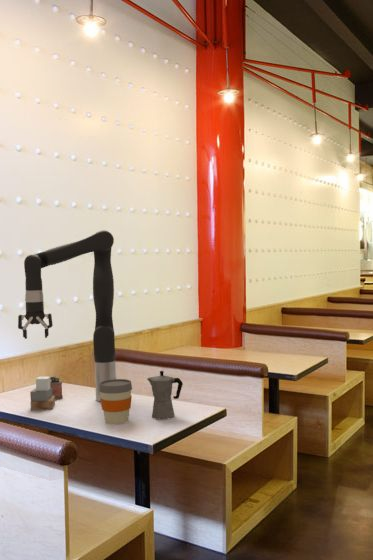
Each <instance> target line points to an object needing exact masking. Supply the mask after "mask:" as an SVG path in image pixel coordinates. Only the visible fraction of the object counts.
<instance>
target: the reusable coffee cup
mask: <svg viewBox="0 0 373 560" xmlns="http://www.w3.org/2000/svg"><path fill="white" fill-rule="evenodd" d="M132 390H133V384H132V381H131V380H130V379H126V378H125V379H124V378H116V379H113V380H106V381H103V382H101V383H100V388H99V391H100V393H101V398H100V400H101V401H100V405H101V410H102V411H103V416H104V422H105V424H107V425H122V424H126V423H128V422H129V417H130V409H131V407H132V398H133V397H132Z"/></svg>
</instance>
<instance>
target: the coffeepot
mask: <svg viewBox="0 0 373 560" xmlns="http://www.w3.org/2000/svg"><path fill="white" fill-rule="evenodd" d="M146 380H147V381H148V382H149V384H150V386H151V391H152V396H153V405H152V412H151V418H153V419H154V418H155V420H168V418H170V419H172V418H174V417H175V411H174V410H175V409H174V405H173V400H172V393H173V391H172V390H173V385H174V384H176V383H177V384H178V385H177V389H176V392H175V396H174V395H173V399H174V400H177V399H179V398H180V396H181V392H182V388H183V385H184V384H183V381H182V380H181V379H180V377H173V376H170V375H169V376H168V375H164V370H159V375H156V376H151V377H147V378H146Z"/></svg>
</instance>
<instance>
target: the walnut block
mask: <svg viewBox="0 0 373 560" xmlns="http://www.w3.org/2000/svg"><path fill="white" fill-rule="evenodd" d="M55 405H56V399H55V396H52V397H51V398H50V399H49V400H48V401H31V400H30V411H42V410H43V411H45V410H47V411H48V410H53V409H54V407H55Z"/></svg>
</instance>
